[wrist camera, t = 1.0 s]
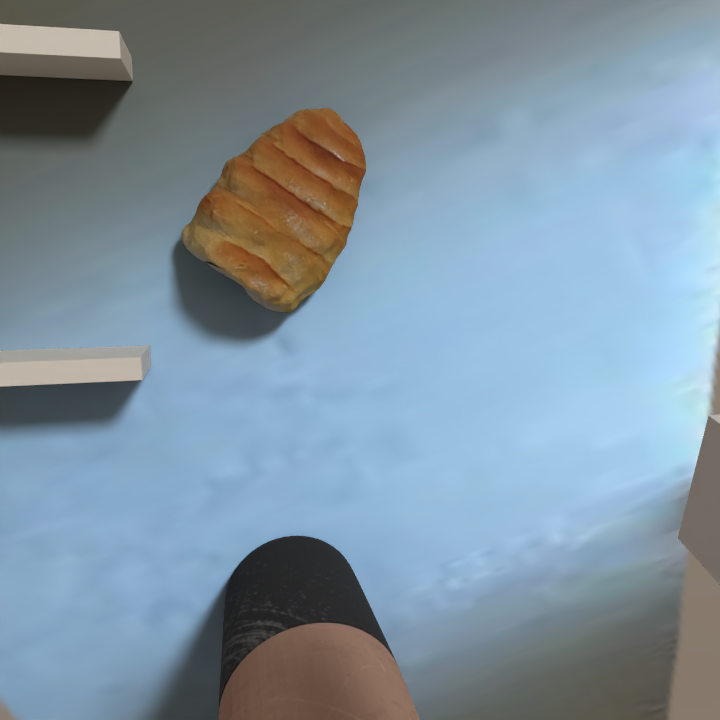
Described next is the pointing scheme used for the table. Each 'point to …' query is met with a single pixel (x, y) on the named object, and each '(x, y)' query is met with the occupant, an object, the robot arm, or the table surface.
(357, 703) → the travel mug
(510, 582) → the table surface
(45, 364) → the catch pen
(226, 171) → the pastry
